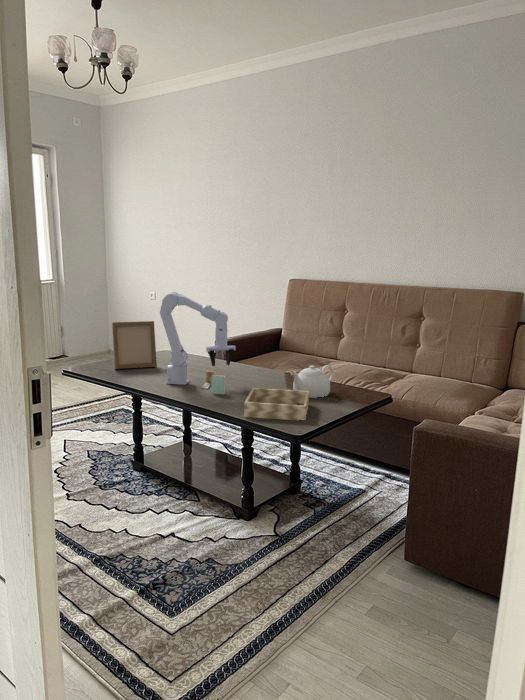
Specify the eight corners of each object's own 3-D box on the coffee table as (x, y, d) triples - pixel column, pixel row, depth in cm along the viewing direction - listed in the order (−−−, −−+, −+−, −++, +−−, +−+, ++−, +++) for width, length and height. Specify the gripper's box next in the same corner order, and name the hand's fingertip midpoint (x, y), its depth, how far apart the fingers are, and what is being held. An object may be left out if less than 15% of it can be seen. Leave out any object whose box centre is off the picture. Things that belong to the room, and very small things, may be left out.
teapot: (330, 400, 241) (332, 371, 239) (289, 397, 244) (290, 368, 242) (332, 390, 259) (334, 362, 257) (294, 387, 262) (295, 360, 260)
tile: (211, 393, 248) (211, 375, 246) (212, 392, 250) (212, 374, 248) (224, 394, 247) (224, 376, 246) (224, 393, 249) (225, 375, 247)
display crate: (244, 416, 216) (244, 402, 215) (252, 401, 238) (252, 387, 237) (305, 420, 213) (306, 406, 212) (308, 404, 235) (308, 391, 234)
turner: (201, 388, 256) (201, 376, 255) (207, 382, 269) (207, 370, 267) (207, 389, 256) (207, 376, 254) (213, 382, 268) (213, 370, 267)
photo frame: (156, 368, 295) (155, 322, 291) (115, 370, 288) (114, 323, 283) (152, 362, 309) (151, 319, 305) (112, 365, 301) (111, 320, 297)
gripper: (210, 339, 254) (209, 368, 256) (238, 338, 260) (237, 365, 263) (204, 337, 260) (204, 364, 263) (232, 335, 266) (231, 362, 269)
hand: (220, 365), depth 263 cm, fingers open, 7 cm apart
